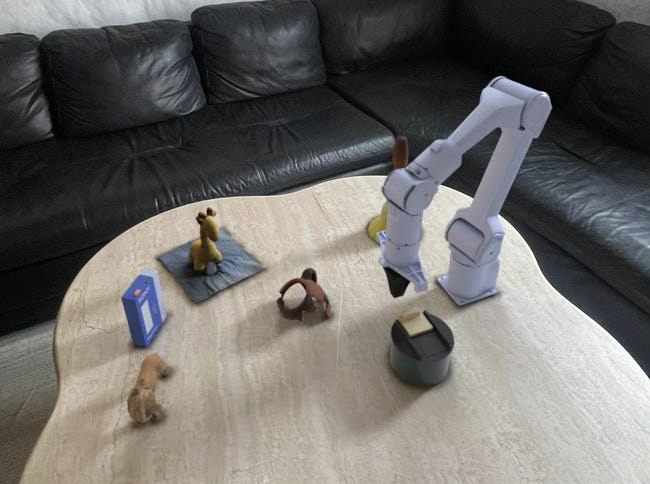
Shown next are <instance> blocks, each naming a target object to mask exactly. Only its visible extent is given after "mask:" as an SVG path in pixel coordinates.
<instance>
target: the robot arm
mask: <svg viewBox="0 0 650 484" xmlns="http://www.w3.org/2000/svg"><path fill="white" fill-rule="evenodd" d="M552 109H553V106H552V103H551V98H550V96H549V94H548V93H547V92H544V91H540V90H537V89H534V88H532V87H529V86H526V85H524V84H522V83H519V82H516V81H513V80H511V79H508V77H506V76H503V75H502V76H501V75H500V76H497V77H494V78H493V79H492V80H490V81H489V83H488V84H487V86H486V87H485V88H483V89H482V91H481V94H480V96H479V104H478V105H477V106H476V107H475V108H474V109H473V111H471V113H470V114H469V115H468V116H467V117H466V118H465V119H464V120H463V122H461V123H460V125H458V126H457V128H456V129H455V130H454V131H453V132H452V133H451V134H450V135H449V136H448V137H447V139H436V140H435V141H433V142H432V143H431V144H430V145H428V147H427V148H425V149H424V150H423V151H422V152H421V153H420V154H419V155H417V157H416V158H415V159H413V160H412V162H410V163H409V164H407V166H406V168H402V169H396V170H394V169H393V170H392V171H391V172H390V173H389V174H388V175H387V176H386V178H385V180H384V183H383V185H381V186H380V187H381V188H380V189H381V190H380V191H381V194H382V196H383V197H384V198H385V202H386V205H387V206H388V214H387V226H386V230H385V231H381V232H377V236H376V241H377V242H376V241H375V242H376V243H377V244H379V245H380V246H379V247H380V251H381V255H382V256H379V257H378V263H379V265H380V266H381V267H382V268H383V271H384V274H385V276H386V280H387V284H388V289H389V293H390V295H391V296H392V298H393V299H398V298H401V297H404V295H405V294H406V291H407V289H408V287H409V285H410V284H411V283H412V284H413V286H414V287H413V290H414V292H415V293H416V294H420V293H423V292H426V291H428V288H429V281H428V279H427V277H426V276H425V273H424V270H423V266H422V263H421V259H420V256H419V249H420V242H421V232H422V225H423V216H424V211H425V210H426V209H428V208H429V207H430V205H431V204H432V202H433V199H434V197H435V195H436V194H437V193H438V191H439V188H438V187H440V186H441V185H442V183H444V182H445V181H446V180H447V179H448V178H449V177H450V176H451V175H452V174H454V172H456V170H458V168H460V167H461V165H462V161H463V160H462V157H463V154H465V153H467V151H468V150H470V149H471V148H472V147H473V146H475V145H476V144H477V143H479V142H480V141H481V140H483V139H484V138H485V137H486V136H488V135H489V134H490V133H491V132H493V131H494V130H495V129H497V128H499V129H500V130H501V135H500V137H499V140H498V142H497V143H496V146H495V148H494V150H493V153H492V156H491V158H490V161H489V162H488V165H487V167H486V170H485V172H484V174H483V176H482V179H481V180H480V183H479V186H478V188H477V189H476V192H475V195H474V197H473V199H472V201H471V204H470V206H465V207H461V208H458V209H457V210H456V211H455V213H454V215H453V217H452V218H451V219H450V220H449V222H448V223H447V224H446V226H445V229H444V234H443V235H444V236H443V237H444V240H445V241H446V242H448V249H449V250H450V255H449V261H448V268H447V274H446V275H443V276H439V277H437V279H436V280H437V282H438V283H439V284H440V286H441V287H442V288H443V289H444V290H445V292H447V294H448V295H449V296H450V298H451V299H452V300H453V301H454V302H455V303H456V305H458V306H463V305H466V304H469V303H472V302H475V301H478V300H480V299H481V300H482V299H484V298H486V297H490V296H493V295H496V294H497V293H498V289H496V284H497V280H498V276H499V272H500V267H501V266H500V264H501V263H500V258H499V256H500V253H501V251H502V243H503V241H504V237H505V235H506V232H505V230H504V227H503V226H502V225H503V224H501V222H500V220H499V217H498V216H499V214H500V211H501V209H502V207H503V205H504V202H505V200H506V198H507V196H508V194H509V192H510V190H511V187H512V186H513V183H514V181H515V179H516V177H517V174H518V172H519V170H520V168H521V165H522V164H523V161H524V159H525V156H526V154H527V152H528V151H529V148H530V146H531V143H532V142H533V139H538V138H540V137H539V136H540V135H541V132H542V131H543V129H544V127H545V124H546V122H547V120H548V118H549V116H550V113H551V111H552Z"/></svg>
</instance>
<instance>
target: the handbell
mask: <svg viewBox="0 0 650 484" xmlns="http://www.w3.org/2000/svg"><path fill="white" fill-rule="evenodd" d="M409 151H410V150H409V141H408V138H407V137H406V136H404V135H399V136H397V138H395V143H394V145H393V149H392V157H391V158H392V159H391V160H392V167H393V171H394V170H396V169H402V168H406V167H407V166H408V162H409V153H410V152H409ZM387 214H388V206H387V205H386V201H385V202H384V203H383V204H382V206H381V211H380V215H379V216H376V217H375V218H374V219H372V220H371V222H370V223H369V225H368V228H367V229H368V234H369V236H370V237H371V239H373V241H375V242H376V243H378V242H377V241H376V236H377V232H381V231H385V230H386V226H387Z"/></svg>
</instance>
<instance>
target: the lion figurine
mask: <svg viewBox="0 0 650 484" xmlns="http://www.w3.org/2000/svg"><path fill="white" fill-rule="evenodd" d="M158 374H162V376H164V377H168V376H169V375H170V369H169V367H168V363H167V362H165V361H163V358H162V357H161V356H160V355H159V354H158V353H157V352H152V353H150V354H148V355H147V356H145V358H144V359H143V360H142V362H141V364H140V370H139V374H138V376H137V379H136V382H135V384H134V387H133V388H132V389H131V391H130V392H129V395H128V397H127V399H126V406H127V407H126V410H127V413H128V414H129V417H130V418H131V419H133V420H134V424H135V426H137V427H140V426H143V424H146V422H148V421H149V420H150V419H151V418H152V420H153V422H154V421H155V422H157V421H159V420H160V419H161V418H162V415H161V414H160V411H161V410H162V408H163V404H161V403H158V402H157V399H156V395H155V390H156V384H157V375H158Z"/></svg>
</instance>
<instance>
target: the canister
mask: <svg viewBox="0 0 650 484" xmlns="http://www.w3.org/2000/svg"><path fill="white" fill-rule="evenodd" d="M421 312H422V313H423V314H424V316H425V317H426V318H427V320H428V321H429V322H430V324H431V325H432V326H433V330H430V331H427V332H425V333H422V334H419V335H416V336H413V337H410V336H409V335H408V333H407V332H406V330H405V329H404V328H403V326H402V325H401V323H400V322H399V320H398V319H397V318H396V319H395V320H394V322H393V324H392V325H391V328H390V340H391V345H390V346H391V347H390V353H389V354H390V355H389V360H390V361H389V362H390V365H391V368H392V370H393V372H394V373H395V374H396V375H397V377H399V378H400V379H401V380H402V381H404V382H406V383H408V384H410V385H412V386H416V387H430V386H434V385H436V384H438V383H440V382H441V381H442V380H444V378H445V377H446V376H447V373H448V371H449V369H448V368H449V364H450V358H451V355H452V353H453V350H454V348H455V347H454V346H455V336H454V333H453V331H452V329H451V327H450V326H449V325H448V324H447V323H446V322H445V321H444V320H442V319H441V318H440V317H438V316H436V315H435V314H431V313H429V311H428V310H427V309H423V311H421Z"/></svg>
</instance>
